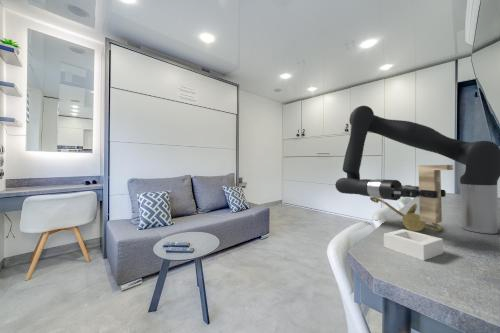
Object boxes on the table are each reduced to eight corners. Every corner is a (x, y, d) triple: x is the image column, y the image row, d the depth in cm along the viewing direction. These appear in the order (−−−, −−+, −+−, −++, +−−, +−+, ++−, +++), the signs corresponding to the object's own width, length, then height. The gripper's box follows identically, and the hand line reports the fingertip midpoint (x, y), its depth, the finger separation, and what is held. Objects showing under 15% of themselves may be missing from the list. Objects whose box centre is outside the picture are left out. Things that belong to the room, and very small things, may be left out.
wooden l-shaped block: (426, 218, 67) (425, 165, 67) (454, 224, 60) (453, 164, 61) (419, 220, 65) (418, 165, 65) (448, 226, 59) (446, 165, 59)
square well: (403, 241, 65) (403, 229, 65) (443, 253, 56) (442, 238, 56) (383, 246, 61) (383, 233, 61) (423, 260, 52) (423, 245, 52)
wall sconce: (443, 222, 68) (370, 188, 87) (429, 244, 71) (361, 207, 90) (451, 216, 76) (382, 187, 95) (438, 237, 79) (374, 204, 98)
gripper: (371, 180, 74) (428, 183, 59) (394, 178, 80) (452, 180, 65) (372, 200, 74) (429, 208, 59) (395, 197, 80) (452, 203, 65)
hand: (441, 194), depth 62 cm, fingers closed on wooden l-shaped block, 4 cm apart
